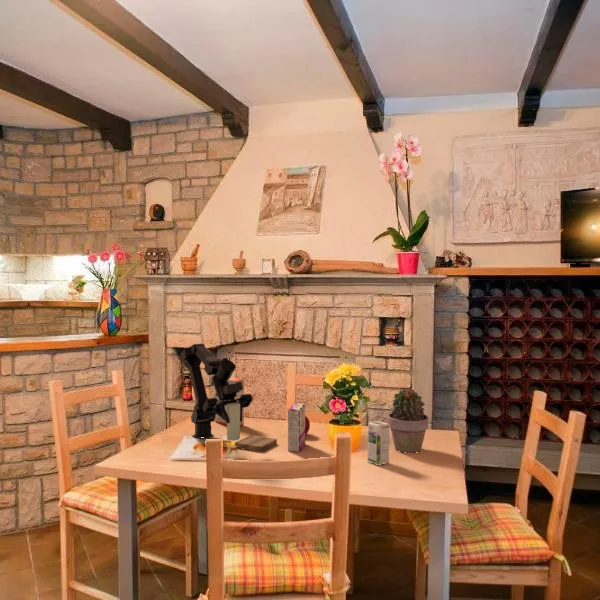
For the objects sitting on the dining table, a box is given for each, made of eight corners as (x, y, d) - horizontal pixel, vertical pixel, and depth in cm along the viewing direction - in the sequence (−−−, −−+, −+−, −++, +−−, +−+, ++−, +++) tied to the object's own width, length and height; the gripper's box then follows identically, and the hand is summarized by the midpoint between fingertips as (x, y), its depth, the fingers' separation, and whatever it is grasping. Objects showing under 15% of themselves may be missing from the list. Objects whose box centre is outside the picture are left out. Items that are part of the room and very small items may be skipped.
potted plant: (413, 440, 228) (414, 380, 227) (440, 454, 210) (442, 389, 209) (374, 444, 222) (375, 382, 221) (399, 459, 204) (400, 392, 203)
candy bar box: (293, 443, 223) (293, 402, 222) (305, 444, 222) (305, 403, 221) (287, 451, 212) (287, 409, 211) (299, 452, 211) (300, 409, 210)
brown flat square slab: (235, 447, 216) (235, 442, 216) (251, 439, 227) (251, 435, 227) (261, 452, 211) (261, 447, 211) (276, 443, 222) (276, 439, 221)
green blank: (224, 439, 206) (224, 404, 206) (233, 436, 210) (233, 402, 210) (233, 441, 203) (233, 406, 203) (242, 438, 207) (242, 404, 207)
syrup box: (366, 462, 200) (367, 422, 200) (378, 459, 204) (378, 420, 203) (378, 466, 196) (378, 425, 195) (389, 463, 199) (390, 423, 199)
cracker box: (244, 425, 250) (244, 379, 249) (234, 427, 245) (234, 380, 245) (224, 419, 259) (224, 375, 259) (214, 421, 255) (214, 376, 254)
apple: (313, 434, 236) (314, 410, 236) (302, 439, 229) (302, 415, 228) (295, 430, 241) (295, 408, 241) (284, 435, 234) (284, 412, 233)
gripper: (206, 377, 204) (218, 413, 195) (250, 372, 214) (264, 406, 206) (197, 394, 211) (209, 430, 202) (241, 389, 221) (254, 423, 212)
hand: (235, 422), depth 205 cm, fingers closed on green blank, 5 cm apart
